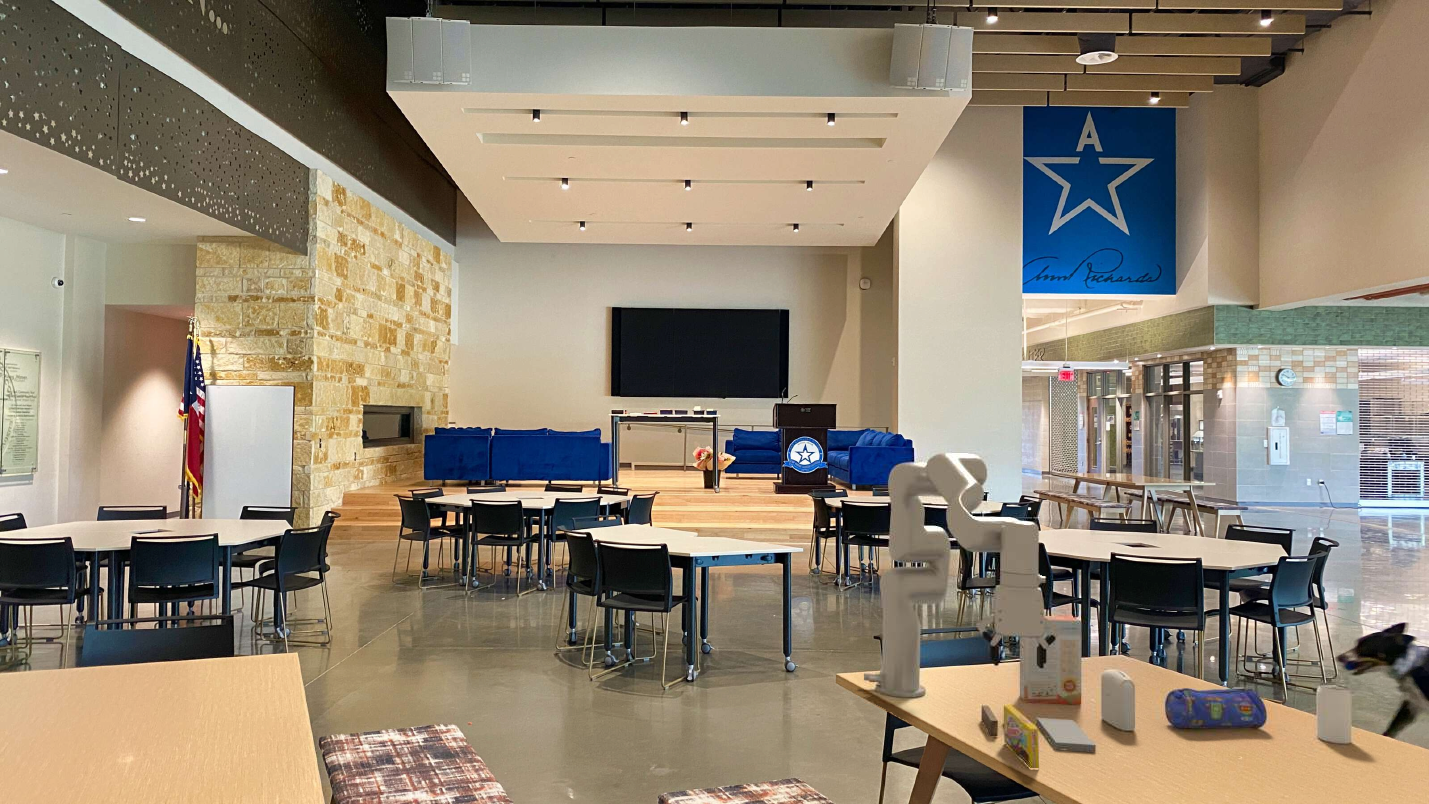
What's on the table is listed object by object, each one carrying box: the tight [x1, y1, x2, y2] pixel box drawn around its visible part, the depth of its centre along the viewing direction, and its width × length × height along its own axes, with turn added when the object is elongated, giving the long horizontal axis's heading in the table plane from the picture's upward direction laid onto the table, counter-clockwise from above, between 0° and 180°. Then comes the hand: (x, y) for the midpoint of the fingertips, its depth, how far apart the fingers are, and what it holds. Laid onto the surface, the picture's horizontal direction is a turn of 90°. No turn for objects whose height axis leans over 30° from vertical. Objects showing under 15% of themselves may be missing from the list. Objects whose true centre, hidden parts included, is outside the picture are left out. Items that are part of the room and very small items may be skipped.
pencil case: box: [1164, 685, 1268, 729], centre depth 213 cm, size 22×9×10 cm, turn 98°
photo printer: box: [1100, 669, 1136, 732], centre depth 213 cm, size 10×4×12 cm, turn 2°
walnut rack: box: [980, 704, 999, 737], centre depth 206 cm, size 7×12×4 cm, turn 173°
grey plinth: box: [1036, 717, 1097, 753], centre depth 201 cm, size 8×18×2 cm, turn 173°
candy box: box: [1003, 704, 1040, 769], centre depth 188 cm, size 16×2×8 cm, turn 0°
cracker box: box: [1019, 615, 1082, 705], centre depth 232 cm, size 14×6×21 cm, turn 84°
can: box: [1316, 682, 1352, 745], centre depth 206 cm, size 6×6×12 cm
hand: (1017, 665), depth 190 cm, fingers open, 8 cm apart
